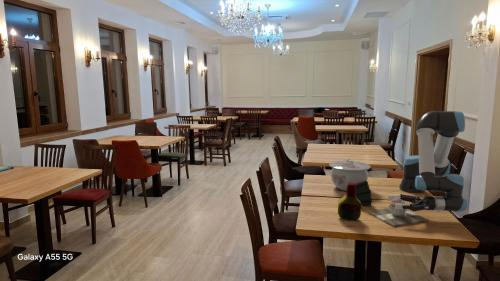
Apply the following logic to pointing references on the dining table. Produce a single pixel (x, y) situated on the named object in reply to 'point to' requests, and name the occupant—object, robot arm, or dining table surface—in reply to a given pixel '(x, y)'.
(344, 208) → the bottle
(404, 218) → the checkered cloth napkin
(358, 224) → the dining table surface
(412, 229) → the dining table surface
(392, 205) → the cupcake
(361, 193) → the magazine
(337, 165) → the chamber pot
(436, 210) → the robot arm
